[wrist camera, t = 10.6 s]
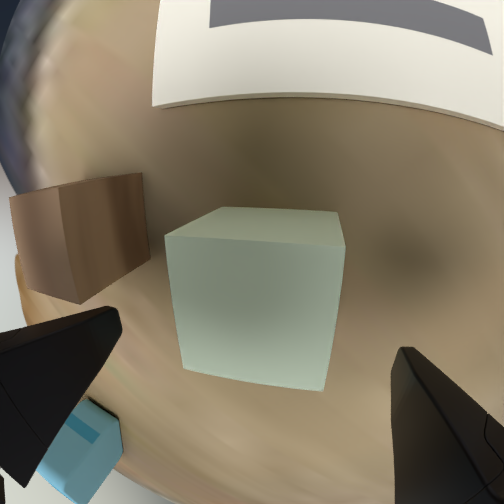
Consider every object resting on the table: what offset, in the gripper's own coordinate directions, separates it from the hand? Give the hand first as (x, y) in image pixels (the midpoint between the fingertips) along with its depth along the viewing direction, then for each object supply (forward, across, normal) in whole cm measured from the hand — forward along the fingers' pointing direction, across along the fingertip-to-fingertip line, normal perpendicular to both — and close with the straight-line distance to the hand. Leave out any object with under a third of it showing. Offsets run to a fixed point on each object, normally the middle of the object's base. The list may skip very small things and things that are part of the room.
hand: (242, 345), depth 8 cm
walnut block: (+7, +10, -2) cm, 12 cm away
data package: (+7, +20, +24) cm, 32 cm away
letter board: (+7, -4, -18) cm, 20 cm away
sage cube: (+7, 0, 0) cm, 7 cm away
